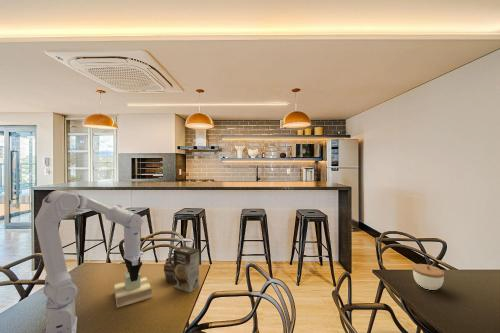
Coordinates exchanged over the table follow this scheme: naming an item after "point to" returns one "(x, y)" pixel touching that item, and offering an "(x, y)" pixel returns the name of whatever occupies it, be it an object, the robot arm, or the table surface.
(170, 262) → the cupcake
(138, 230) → the robot arm
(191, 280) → the coffee box
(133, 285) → the sage cube
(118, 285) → the birch block
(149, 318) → the table surface
